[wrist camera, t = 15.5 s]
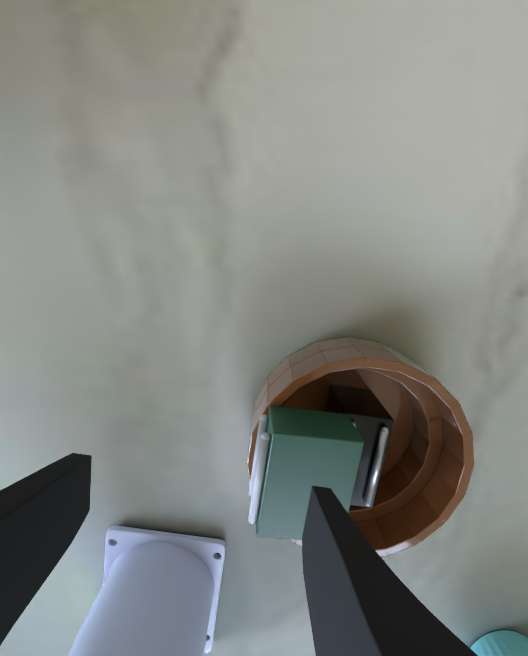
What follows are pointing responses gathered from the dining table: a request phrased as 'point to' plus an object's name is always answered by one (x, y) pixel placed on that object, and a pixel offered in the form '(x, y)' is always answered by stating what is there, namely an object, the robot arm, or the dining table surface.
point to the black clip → (364, 436)
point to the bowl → (405, 440)
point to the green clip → (300, 467)
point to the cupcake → (501, 644)
